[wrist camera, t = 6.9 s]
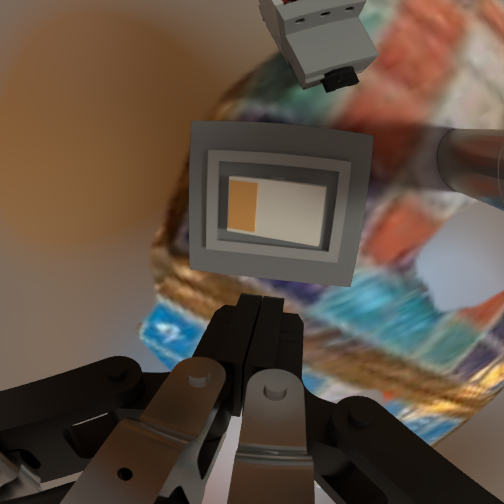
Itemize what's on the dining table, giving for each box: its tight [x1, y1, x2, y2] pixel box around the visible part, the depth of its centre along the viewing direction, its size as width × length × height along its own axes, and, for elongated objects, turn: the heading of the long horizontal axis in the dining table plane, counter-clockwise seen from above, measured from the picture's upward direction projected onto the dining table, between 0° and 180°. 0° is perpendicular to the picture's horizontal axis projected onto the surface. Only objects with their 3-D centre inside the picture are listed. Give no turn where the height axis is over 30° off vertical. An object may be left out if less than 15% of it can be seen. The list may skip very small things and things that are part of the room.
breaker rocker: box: [227, 175, 327, 246], centre depth 29 cm, size 10×6×1 cm, turn 87°
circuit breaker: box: [259, 0, 379, 93], centre depth 22 cm, size 8×14×15 cm, turn 23°
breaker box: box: [189, 121, 374, 287], centre depth 34 cm, size 20×18×7 cm
